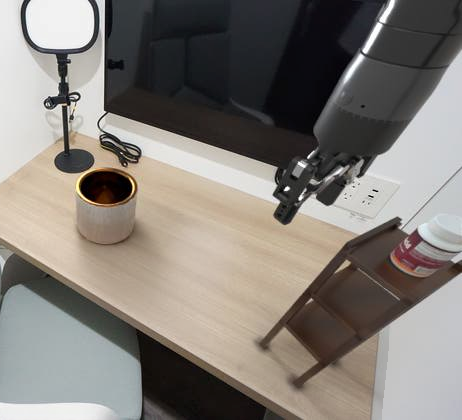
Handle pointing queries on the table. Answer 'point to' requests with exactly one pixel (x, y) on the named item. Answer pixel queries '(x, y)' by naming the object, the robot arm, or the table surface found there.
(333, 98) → the robot arm
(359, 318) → the rack
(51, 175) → the table surface
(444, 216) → the pill bottle
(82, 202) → the planter
